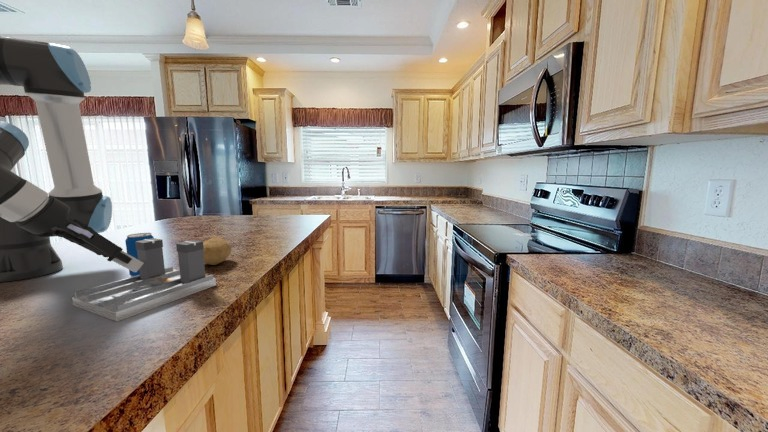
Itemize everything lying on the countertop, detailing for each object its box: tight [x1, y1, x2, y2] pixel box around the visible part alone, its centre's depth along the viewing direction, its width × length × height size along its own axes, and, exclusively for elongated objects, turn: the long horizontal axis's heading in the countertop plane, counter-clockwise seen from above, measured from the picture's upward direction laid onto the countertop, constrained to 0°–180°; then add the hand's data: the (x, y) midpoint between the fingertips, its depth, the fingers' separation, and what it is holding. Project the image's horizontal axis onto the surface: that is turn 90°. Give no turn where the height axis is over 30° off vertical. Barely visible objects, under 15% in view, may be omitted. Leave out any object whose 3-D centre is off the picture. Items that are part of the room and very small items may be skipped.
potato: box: [203, 237, 232, 266], centre depth 100 cm, size 10×14×8 cm
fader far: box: [175, 239, 206, 283], centre depth 78 cm, size 4×4×10 cm
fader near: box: [135, 237, 166, 280], centre depth 81 cm, size 4×4×10 cm
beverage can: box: [124, 232, 155, 277], centre depth 89 cm, size 6×6×12 cm
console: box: [71, 266, 217, 322], centre depth 75 cm, size 18×22×3 cm
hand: (138, 267), depth 78 cm, fingers closed
